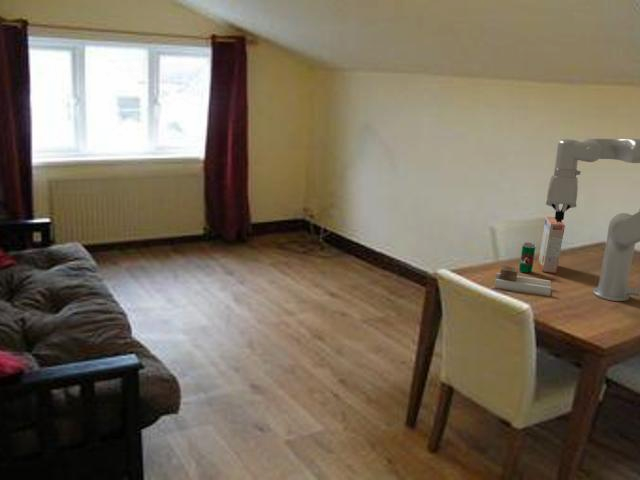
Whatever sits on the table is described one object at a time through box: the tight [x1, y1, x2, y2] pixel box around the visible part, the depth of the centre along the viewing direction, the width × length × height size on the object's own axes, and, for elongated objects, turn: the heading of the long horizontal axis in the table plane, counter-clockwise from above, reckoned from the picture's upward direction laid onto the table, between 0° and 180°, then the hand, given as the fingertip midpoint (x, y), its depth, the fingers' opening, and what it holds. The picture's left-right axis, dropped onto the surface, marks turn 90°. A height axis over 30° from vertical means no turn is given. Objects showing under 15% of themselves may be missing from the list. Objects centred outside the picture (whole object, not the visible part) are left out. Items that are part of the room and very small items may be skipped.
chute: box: [494, 272, 552, 297], centre depth 236 cm, size 20×9×3 cm, turn 72°
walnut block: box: [500, 265, 519, 282], centre depth 236 cm, size 6×6×6 cm
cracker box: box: [537, 216, 566, 274], centre depth 260 cm, size 14×6×21 cm, turn 168°
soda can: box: [518, 242, 536, 274], centre depth 254 cm, size 5×5×12 cm
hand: (558, 221), depth 233 cm, fingers closed
